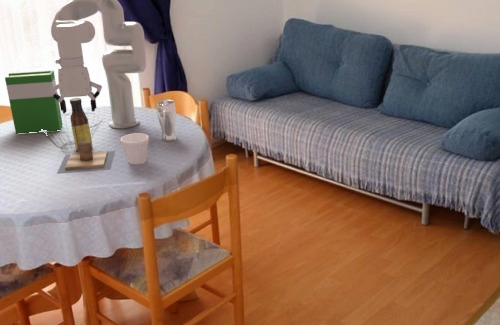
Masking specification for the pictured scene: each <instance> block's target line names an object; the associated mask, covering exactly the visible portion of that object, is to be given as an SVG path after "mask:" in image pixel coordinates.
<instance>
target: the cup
mask: <svg viewBox="0 0 500 325" xmlns="http://www.w3.org/2000/svg"><path fill="white" fill-rule="evenodd" d="M149 142H150V137H149V135H148V134H146V133H142V132H135V133H134V132H133V133H129V134H125V135H123V136H121V138H120V144H121V146H122V148H123V152H124V155H125V157H126V160H127V161H128V164H131V165H141V164H144V163H146V162H147V157H148V156H147V153H148V146H149Z"/></svg>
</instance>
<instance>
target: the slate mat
mask: <svg viewBox="0 0 500 325" xmlns="http://www.w3.org/2000/svg"><path fill="white" fill-rule="evenodd" d="M106 151H107V150H106ZM107 153H108V154H107V157H106V161H105V164H104V167H99V168H86V169H73V170H65V166H66V164H67V162H68V160H69V157H70V155H71V154H72V153H68V154H67V153H66V154H65V155H64V157H63V160H62V161H61V163H60V165H59V167H58V169H57V172H56V174H71V173H81V172H84V173H85V172H94V171H95V172H96V171H106V170H110V171H111V168H112V164H113V161H114V157H115V153H116V151H115V150H108V151H107Z"/></svg>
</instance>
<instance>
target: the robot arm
mask: <svg viewBox="0 0 500 325" xmlns="http://www.w3.org/2000/svg"><path fill="white" fill-rule="evenodd" d="M99 11H100V12H101V18H102V19H101V20H102V27H103V37H104V42H105V44H106V45H108V46H110V47H131V49H110V50H107V51H105V52H104V53H103V54H102V57H101V62H102V67H103V69H104V72H105V73H104V74H105V77H106V82H107V89H108V96H109V104H110V111H111V120H110V121H109V122H108V125H109V127H110V128H113V129H129V128H130V129H131V128H133V127H136V126H138V125H139V124H140V119H139V118H137V117H136V114H135V106H134V105H135V104H134V97H133V88H132V87H133V86H132V81H131V80H130V78H129V77H128V75H127V74H141V73H143V72H145V70H146V68H147V67H146V66H147V56H146V54H147V53H146V42H145V33H144V32H145V31H144V28H143V26H142V25H141V23H140V22H137V21H125V14H124V9H123V6H122V5H121V3H120V1H119V0H70V1H69V2H67V3H65V5H63V6H62V7H61V8H59V9H58V11H57V12H56V14H55V15H54V18H53V21H52V23H51V26H50V34H51V38H52V39H53V40H54V42H57V43H56V44H57V49H58V50H57V51H58V59H55V60H54V61H55V64H58V65H59V66H58V68H57V71H58V73H57V75H58V76H57V78H58V83H57V84H56V86H54V87H53V88H51V89H50V90H49V91H50V93H51V94H52V95H53V97H54V98H55V99H57V100H58V102H59V106H60V112H62V114H63V115H64V114H66V112H67V110H68V109H67V105H66V100H65V98H80V97H89V99H90V107H91V108H90V109H91V112H94V113H95V110H96V109H97V101H96V99H97V98H98V97H99V95H100V93H101V91H102V88H103V85H101V84H99V83H96V82H93V81H91V77H90V74H89V69H88V66H87V64H85V63H84V55H83V47H82V44H87V43H90V42H91V41H93V39H95V34H96V28H95V26H94V24H93V23H92V22H91V21H90V20H89V21H88V20H85V19H86V18H89V17H91V16H94V15H95V14H97V13H98V12H99ZM93 88H94V89H96V92H93V91H92V89H93ZM56 90H57V91H58V90H59V94H58V92H57V93H56V92H55V91H56Z"/></svg>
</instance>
